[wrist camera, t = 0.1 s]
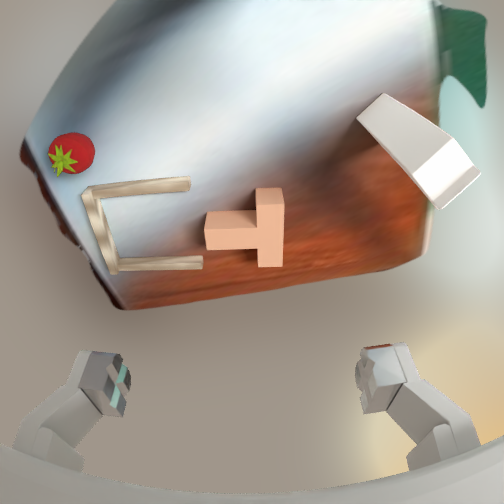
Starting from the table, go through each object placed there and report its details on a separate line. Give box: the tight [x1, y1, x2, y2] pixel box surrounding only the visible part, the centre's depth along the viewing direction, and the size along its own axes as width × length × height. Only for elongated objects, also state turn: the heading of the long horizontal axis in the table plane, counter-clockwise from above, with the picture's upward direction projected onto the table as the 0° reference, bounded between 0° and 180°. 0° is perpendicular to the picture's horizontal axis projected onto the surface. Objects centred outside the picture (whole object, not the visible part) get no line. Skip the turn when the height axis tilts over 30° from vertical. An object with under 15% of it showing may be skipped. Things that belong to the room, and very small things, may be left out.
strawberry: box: [47, 133, 95, 177], centre depth 39 cm, size 6×8×10 cm
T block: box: [204, 188, 284, 267], centre depth 51 cm, size 12×12×5 cm
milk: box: [356, 93, 481, 210], centre depth 33 cm, size 6×6×22 cm
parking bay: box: [81, 176, 203, 274], centre depth 52 cm, size 18×18×3 cm
